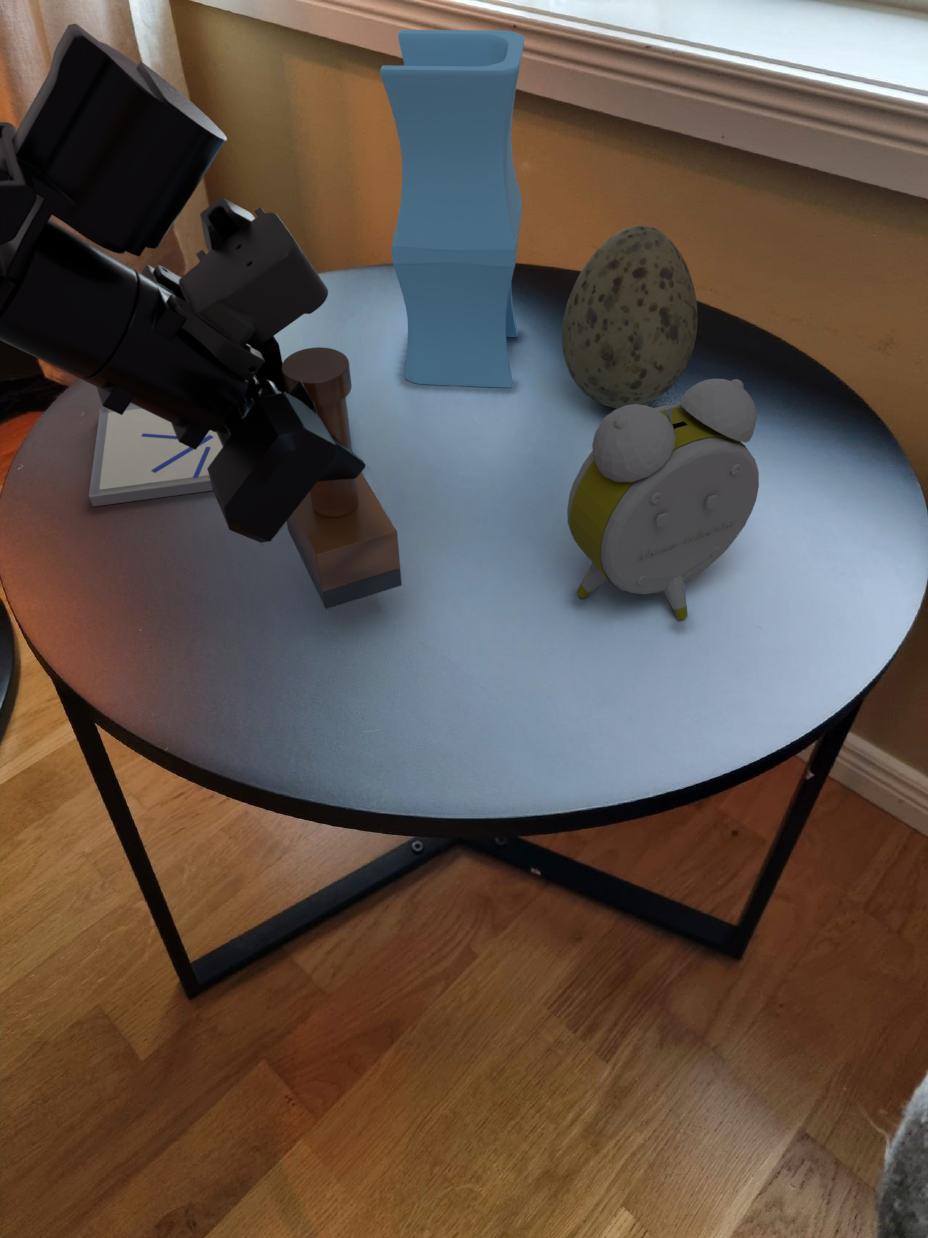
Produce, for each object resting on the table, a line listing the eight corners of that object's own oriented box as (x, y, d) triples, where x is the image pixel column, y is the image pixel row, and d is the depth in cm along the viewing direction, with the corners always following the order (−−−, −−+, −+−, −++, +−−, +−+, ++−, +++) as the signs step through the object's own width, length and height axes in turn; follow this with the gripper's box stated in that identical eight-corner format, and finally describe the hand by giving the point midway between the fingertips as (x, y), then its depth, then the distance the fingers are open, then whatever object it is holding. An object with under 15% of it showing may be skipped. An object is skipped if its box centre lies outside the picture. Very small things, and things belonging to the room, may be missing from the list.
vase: (416, 327, 89) (398, 28, 70) (518, 331, 88) (526, 29, 70) (401, 383, 82) (378, 69, 64) (511, 388, 81) (519, 70, 63)
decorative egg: (655, 450, 74) (684, 272, 64) (536, 414, 78) (544, 240, 67) (700, 385, 81) (734, 213, 70) (588, 355, 85) (603, 187, 74)
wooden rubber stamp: (325, 609, 56) (291, 414, 46) (288, 531, 61) (250, 339, 51) (402, 585, 57) (385, 390, 47) (359, 511, 62) (335, 320, 52)
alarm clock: (693, 535, 67) (733, 351, 56) (753, 593, 63) (809, 406, 52) (556, 587, 64) (570, 401, 53) (609, 653, 60) (637, 465, 49)
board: (92, 507, 71) (88, 496, 70) (103, 418, 79) (99, 408, 78) (351, 471, 73) (350, 461, 72) (336, 389, 81) (335, 379, 81)
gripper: (255, 263, 35) (510, 435, 46) (157, 111, 46) (379, 277, 57) (103, 485, 38) (374, 594, 49) (49, 291, 50) (277, 414, 61)
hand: (351, 456), depth 54 cm, fingers closed on wooden rubber stamp, 3 cm apart
